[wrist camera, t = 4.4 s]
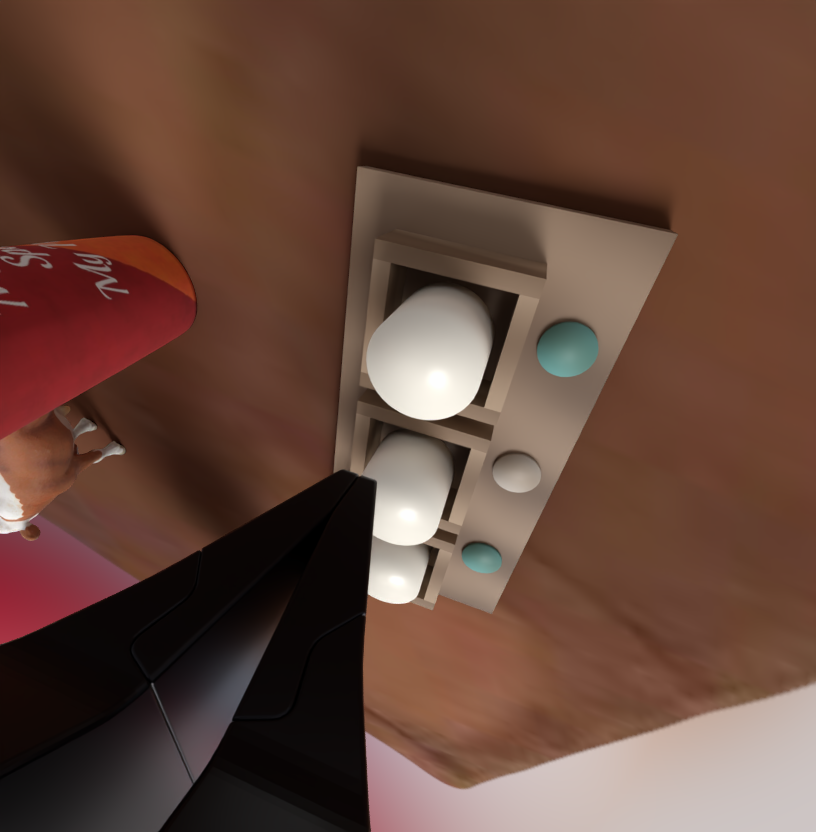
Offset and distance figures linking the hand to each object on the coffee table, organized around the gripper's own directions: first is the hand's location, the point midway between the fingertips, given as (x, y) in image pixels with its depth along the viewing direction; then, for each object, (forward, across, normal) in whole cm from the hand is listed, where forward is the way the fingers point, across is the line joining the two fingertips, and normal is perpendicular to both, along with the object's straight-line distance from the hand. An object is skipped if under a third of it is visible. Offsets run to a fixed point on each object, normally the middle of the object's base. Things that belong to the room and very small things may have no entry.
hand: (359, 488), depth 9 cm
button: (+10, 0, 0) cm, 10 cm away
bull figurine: (+12, +24, +14) cm, 30 cm away
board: (+12, -1, +7) cm, 14 cm away
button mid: (+9, 0, +7) cm, 12 cm away
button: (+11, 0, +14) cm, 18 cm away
